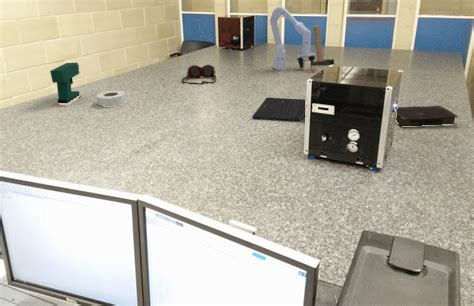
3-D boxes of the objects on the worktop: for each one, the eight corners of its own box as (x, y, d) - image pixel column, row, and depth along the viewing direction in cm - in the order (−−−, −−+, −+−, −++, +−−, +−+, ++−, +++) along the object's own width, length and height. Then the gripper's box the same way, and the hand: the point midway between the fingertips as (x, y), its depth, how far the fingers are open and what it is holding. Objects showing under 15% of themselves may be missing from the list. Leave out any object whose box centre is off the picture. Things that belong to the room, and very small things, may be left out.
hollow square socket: (300, 68, 290) (301, 60, 287) (306, 67, 292) (306, 59, 289) (304, 69, 286) (304, 61, 283) (310, 69, 287) (310, 60, 285)
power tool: (78, 91, 255) (72, 59, 247) (89, 91, 255) (83, 59, 247) (56, 106, 226) (48, 71, 218) (68, 106, 226) (61, 70, 218)
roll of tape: (99, 109, 219) (97, 99, 217) (96, 102, 232) (94, 92, 230) (128, 105, 225) (127, 95, 222) (124, 98, 238) (122, 89, 236)
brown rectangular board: (295, 70, 290) (295, 64, 289) (309, 68, 295) (309, 62, 293) (308, 75, 275) (309, 69, 273) (323, 73, 279) (324, 67, 278)
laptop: (266, 100, 226) (266, 66, 218) (334, 104, 215) (337, 68, 207) (251, 119, 197) (250, 80, 189) (329, 125, 186) (331, 84, 178)
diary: (386, 115, 196) (388, 106, 194) (437, 114, 196) (439, 104, 194) (401, 129, 179) (403, 118, 177) (457, 127, 179) (459, 116, 177)
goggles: (183, 86, 259) (182, 70, 255) (178, 78, 280) (177, 64, 276) (220, 83, 265) (220, 68, 261) (212, 76, 286) (212, 62, 282)
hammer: (307, 69, 301) (301, 29, 290) (307, 68, 306) (301, 28, 295) (334, 65, 296) (329, 23, 285) (334, 63, 301) (329, 22, 290)
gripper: (300, 49, 277) (299, 69, 282) (318, 47, 282) (317, 67, 287) (295, 48, 283) (294, 67, 288) (312, 46, 288) (311, 65, 293)
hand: (305, 67), depth 288 cm, fingers open, 7 cm apart
